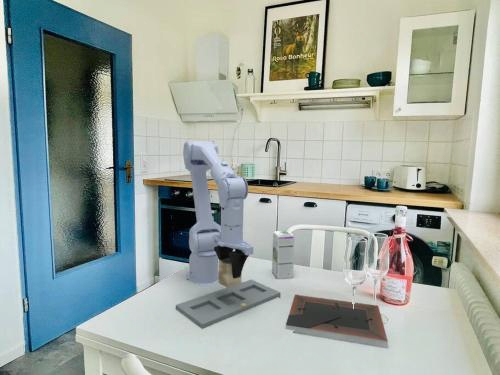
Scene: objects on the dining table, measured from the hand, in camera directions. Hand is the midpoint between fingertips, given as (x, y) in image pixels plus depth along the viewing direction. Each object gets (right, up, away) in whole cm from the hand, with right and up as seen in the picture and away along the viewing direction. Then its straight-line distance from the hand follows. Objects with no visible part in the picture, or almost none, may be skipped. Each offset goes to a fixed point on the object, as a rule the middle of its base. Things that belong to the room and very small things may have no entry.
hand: (231, 274), depth 85 cm
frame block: (0, -2, 0) cm, 2 cm away
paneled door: (0, -8, +1) cm, 8 cm away
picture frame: (+26, -11, -6) cm, 28 cm away
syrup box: (+16, -6, +22) cm, 28 cm away
